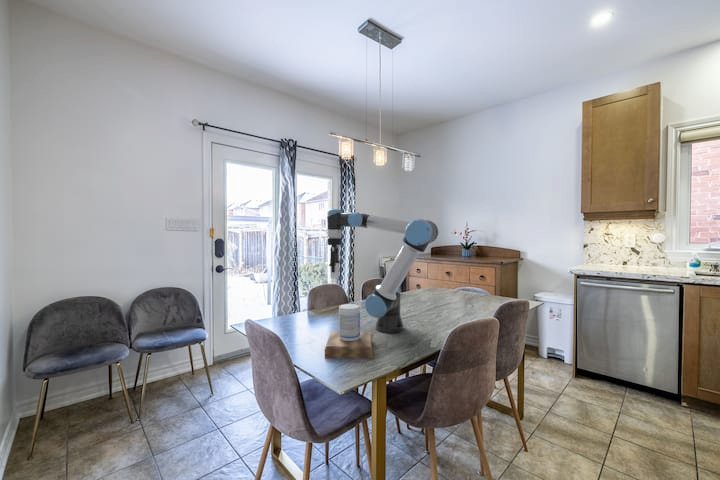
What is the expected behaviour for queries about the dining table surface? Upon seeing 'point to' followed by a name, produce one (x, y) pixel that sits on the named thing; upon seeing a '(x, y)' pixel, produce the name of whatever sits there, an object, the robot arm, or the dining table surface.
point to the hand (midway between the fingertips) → (334, 276)
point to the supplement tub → (349, 322)
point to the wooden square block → (349, 347)
